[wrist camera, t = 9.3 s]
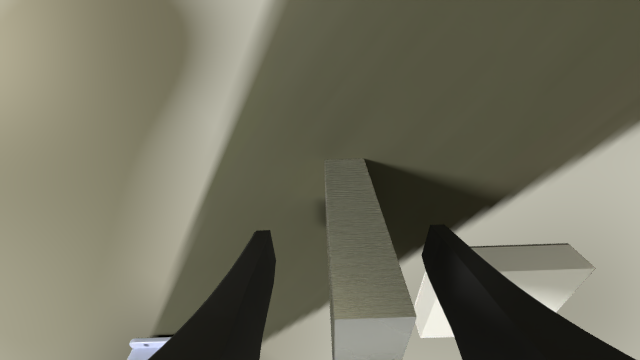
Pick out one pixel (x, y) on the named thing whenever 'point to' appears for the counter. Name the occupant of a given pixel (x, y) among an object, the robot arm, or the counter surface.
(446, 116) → the counter surface
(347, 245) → the pale grey upright block
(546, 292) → the tile
